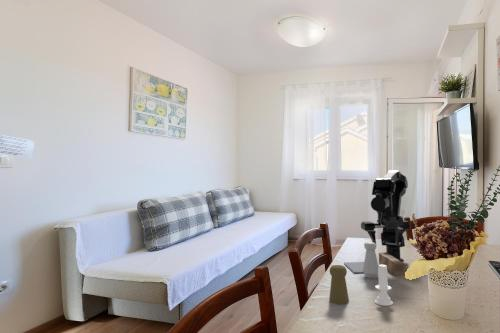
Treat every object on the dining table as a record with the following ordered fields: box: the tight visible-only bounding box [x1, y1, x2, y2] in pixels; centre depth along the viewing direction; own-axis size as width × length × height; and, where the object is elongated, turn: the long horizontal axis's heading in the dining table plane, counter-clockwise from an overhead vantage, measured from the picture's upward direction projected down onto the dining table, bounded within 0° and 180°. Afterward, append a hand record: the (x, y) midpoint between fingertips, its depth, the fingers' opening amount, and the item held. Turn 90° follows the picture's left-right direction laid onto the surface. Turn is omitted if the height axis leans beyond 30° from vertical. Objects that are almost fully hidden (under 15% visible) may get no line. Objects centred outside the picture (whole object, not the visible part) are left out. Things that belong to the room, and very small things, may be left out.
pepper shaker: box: [328, 264, 350, 305], centre depth 114 cm, size 6×6×11 cm
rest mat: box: [343, 261, 364, 274], centre depth 149 cm, size 14×10×1 cm
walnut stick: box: [378, 252, 404, 276], centre depth 146 cm, size 16×3×5 cm, turn 1°
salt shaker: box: [363, 241, 379, 279], centre depth 137 cm, size 6×6×13 cm
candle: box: [374, 264, 394, 307], centre depth 112 cm, size 5×5×12 cm
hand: (386, 246), depth 150 cm, fingers open, 9 cm apart
